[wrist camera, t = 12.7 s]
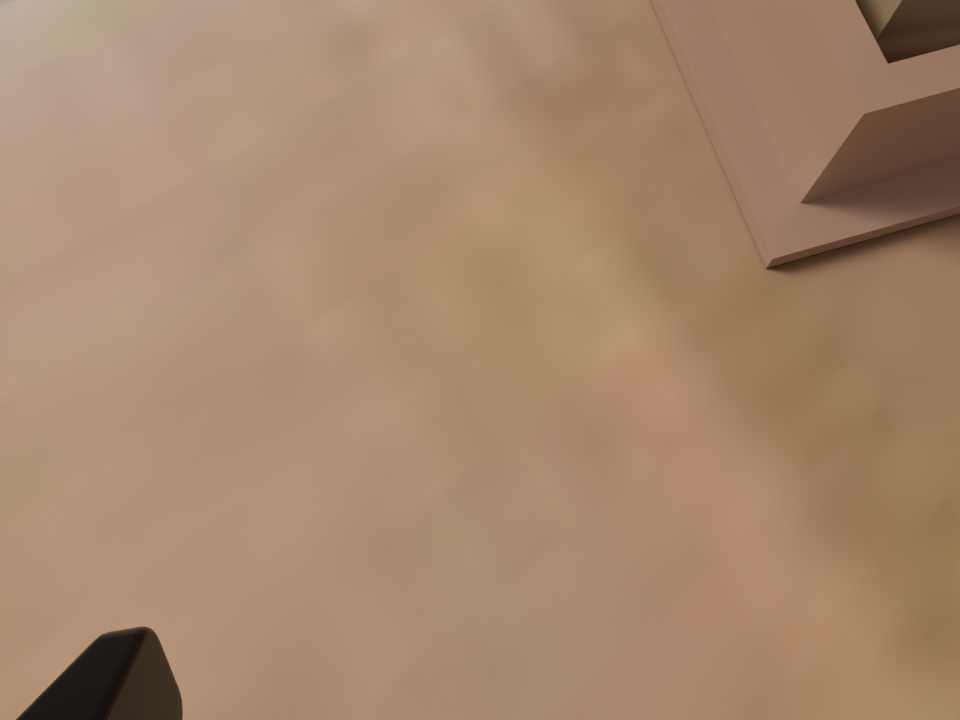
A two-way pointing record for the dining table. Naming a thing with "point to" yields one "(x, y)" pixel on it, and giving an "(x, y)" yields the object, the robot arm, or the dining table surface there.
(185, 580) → the dining table surface
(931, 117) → the holder cup
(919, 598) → the dining table surface
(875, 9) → the wooden block
